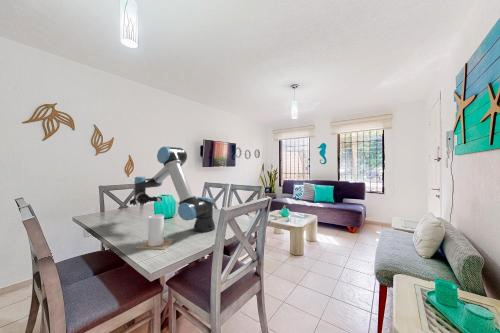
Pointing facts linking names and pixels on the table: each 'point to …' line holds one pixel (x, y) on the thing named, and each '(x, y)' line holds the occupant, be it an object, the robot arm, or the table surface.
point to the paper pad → (162, 246)
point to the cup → (155, 230)
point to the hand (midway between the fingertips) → (149, 202)
